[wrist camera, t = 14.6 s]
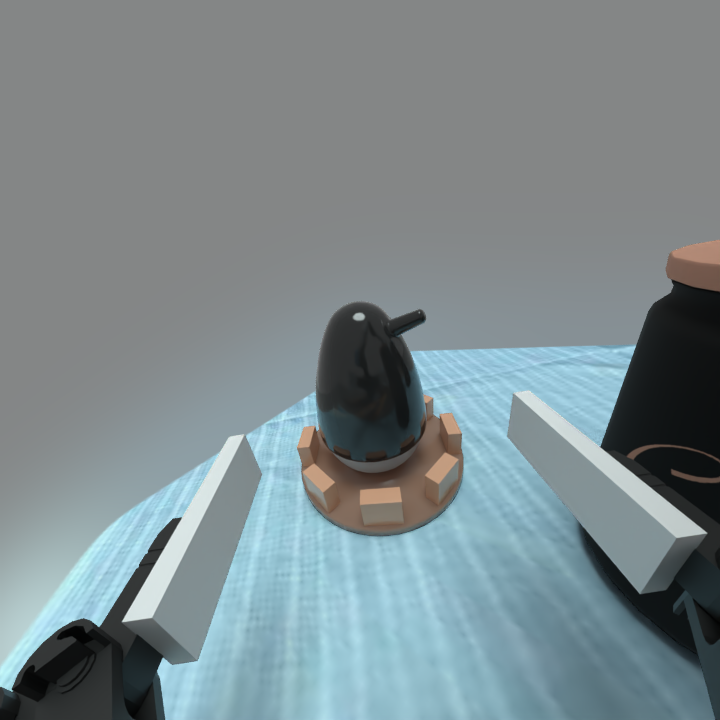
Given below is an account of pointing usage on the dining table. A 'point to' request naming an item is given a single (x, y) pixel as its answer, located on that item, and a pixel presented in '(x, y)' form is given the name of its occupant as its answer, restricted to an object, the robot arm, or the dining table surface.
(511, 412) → the robot arm
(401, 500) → the castellated collar
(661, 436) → the coffee jar
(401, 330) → the pump dispenser
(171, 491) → the dining table surface
